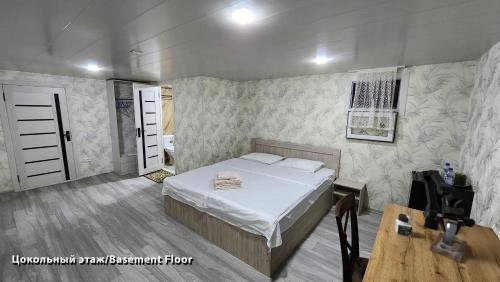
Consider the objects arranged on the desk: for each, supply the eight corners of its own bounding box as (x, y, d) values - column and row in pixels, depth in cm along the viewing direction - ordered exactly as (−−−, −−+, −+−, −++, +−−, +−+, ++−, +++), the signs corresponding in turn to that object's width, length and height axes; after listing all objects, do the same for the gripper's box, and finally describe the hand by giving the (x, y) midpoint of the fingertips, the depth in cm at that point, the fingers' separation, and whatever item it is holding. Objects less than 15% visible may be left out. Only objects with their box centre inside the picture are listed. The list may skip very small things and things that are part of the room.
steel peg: (441, 242, 114) (445, 222, 112) (443, 239, 117) (447, 220, 115) (452, 247, 111) (456, 226, 109) (454, 243, 113) (458, 223, 111)
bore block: (429, 250, 116) (430, 246, 116) (439, 235, 129) (440, 232, 129) (459, 262, 107) (460, 258, 106) (467, 245, 120) (467, 241, 119)
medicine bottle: (397, 234, 130) (399, 217, 128) (394, 228, 137) (396, 211, 135) (411, 237, 127) (413, 219, 125) (407, 231, 134) (409, 213, 132)
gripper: (430, 196, 118) (430, 223, 111) (477, 205, 108) (480, 235, 101) (426, 204, 126) (426, 229, 119) (470, 212, 116) (473, 241, 109)
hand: (450, 233), depth 112 cm, fingers closed on steel peg, 4 cm apart
